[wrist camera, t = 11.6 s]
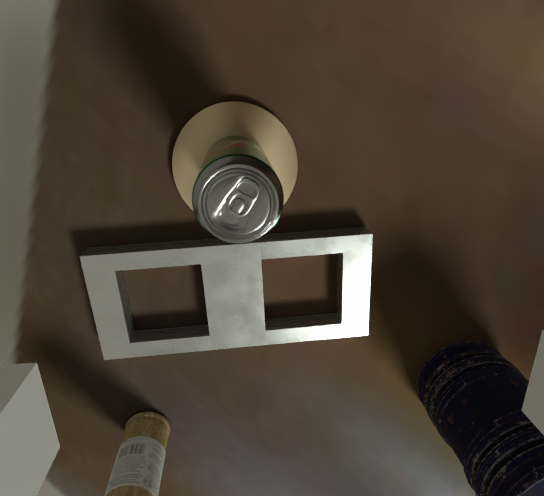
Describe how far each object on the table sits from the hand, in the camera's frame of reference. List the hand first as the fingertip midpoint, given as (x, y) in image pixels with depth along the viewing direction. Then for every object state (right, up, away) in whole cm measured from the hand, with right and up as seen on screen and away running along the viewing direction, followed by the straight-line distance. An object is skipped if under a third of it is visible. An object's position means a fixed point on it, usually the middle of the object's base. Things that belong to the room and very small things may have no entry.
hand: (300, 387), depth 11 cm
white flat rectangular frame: (-4, 0, +26) cm, 27 cm away
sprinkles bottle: (-13, -15, +31) cm, 37 cm away
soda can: (-4, +10, +22) cm, 24 cm away
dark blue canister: (+19, -10, +33) cm, 39 cm away
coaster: (-4, +10, +22) cm, 25 cm away
